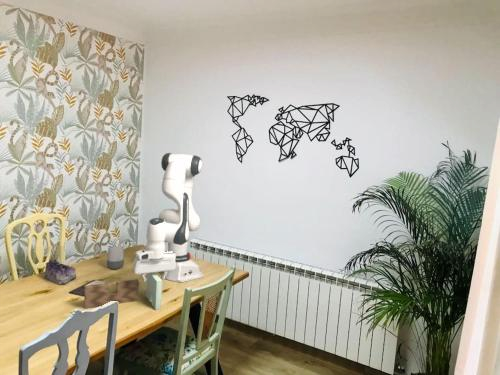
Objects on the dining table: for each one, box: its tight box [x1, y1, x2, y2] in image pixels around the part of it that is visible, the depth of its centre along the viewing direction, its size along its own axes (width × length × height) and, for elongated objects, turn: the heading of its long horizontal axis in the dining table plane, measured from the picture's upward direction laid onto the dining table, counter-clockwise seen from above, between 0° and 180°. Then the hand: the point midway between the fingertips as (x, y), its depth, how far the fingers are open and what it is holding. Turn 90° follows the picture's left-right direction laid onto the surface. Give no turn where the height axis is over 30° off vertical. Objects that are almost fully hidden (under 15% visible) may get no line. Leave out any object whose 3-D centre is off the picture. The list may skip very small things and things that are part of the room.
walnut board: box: [83, 278, 140, 310], centre depth 178 cm, size 24×2×10 cm, turn 121°
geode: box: [44, 259, 77, 285], centre depth 202 cm, size 20×12×10 cm, turn 63°
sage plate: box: [145, 272, 163, 311], centre depth 182 cm, size 16×2×14 cm, turn 31°
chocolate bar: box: [68, 279, 107, 298], centre depth 194 cm, size 9×1×18 cm
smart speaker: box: [106, 245, 125, 271], centre depth 223 cm, size 10×9×14 cm
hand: (154, 280), depth 181 cm, fingers open, 7 cm apart
